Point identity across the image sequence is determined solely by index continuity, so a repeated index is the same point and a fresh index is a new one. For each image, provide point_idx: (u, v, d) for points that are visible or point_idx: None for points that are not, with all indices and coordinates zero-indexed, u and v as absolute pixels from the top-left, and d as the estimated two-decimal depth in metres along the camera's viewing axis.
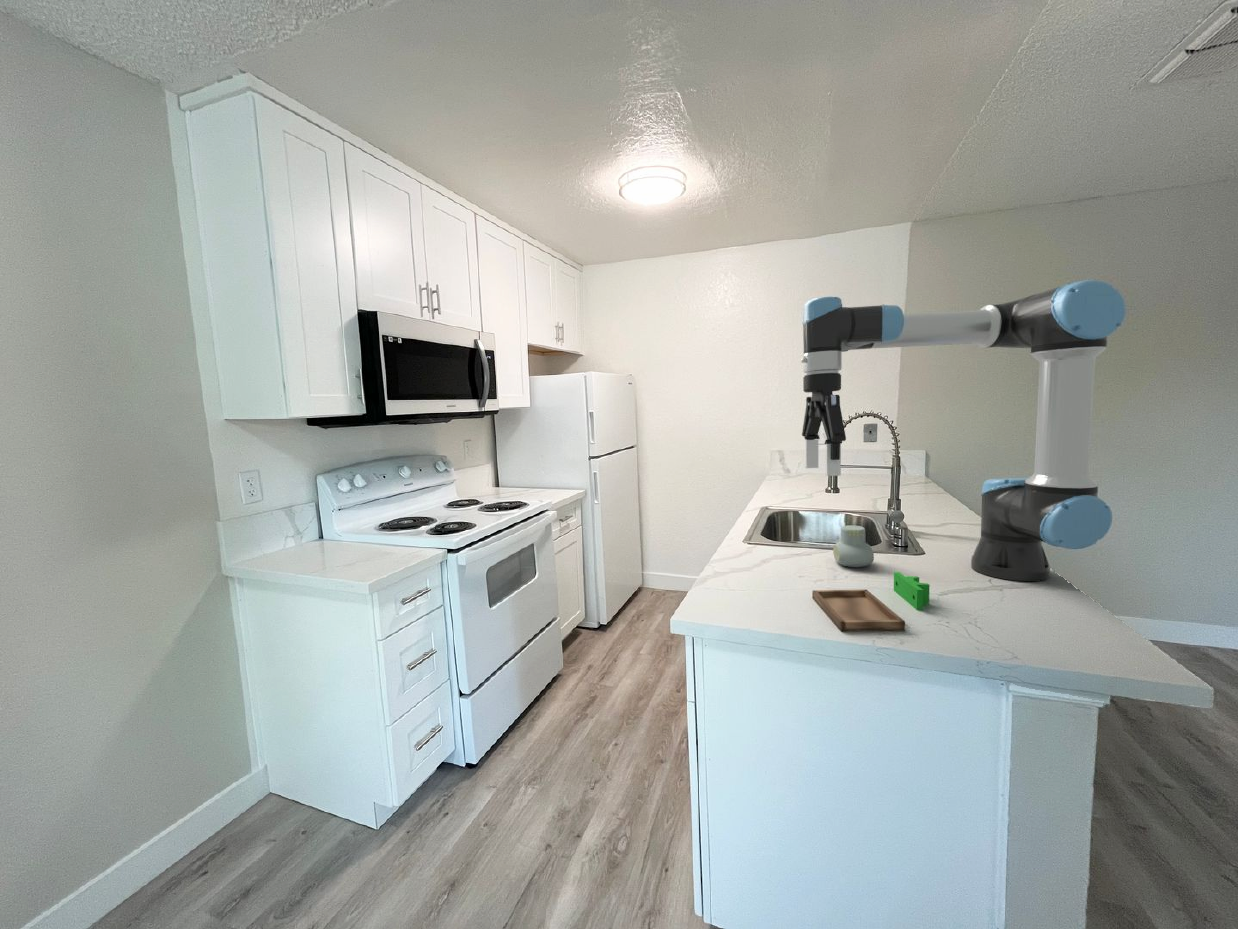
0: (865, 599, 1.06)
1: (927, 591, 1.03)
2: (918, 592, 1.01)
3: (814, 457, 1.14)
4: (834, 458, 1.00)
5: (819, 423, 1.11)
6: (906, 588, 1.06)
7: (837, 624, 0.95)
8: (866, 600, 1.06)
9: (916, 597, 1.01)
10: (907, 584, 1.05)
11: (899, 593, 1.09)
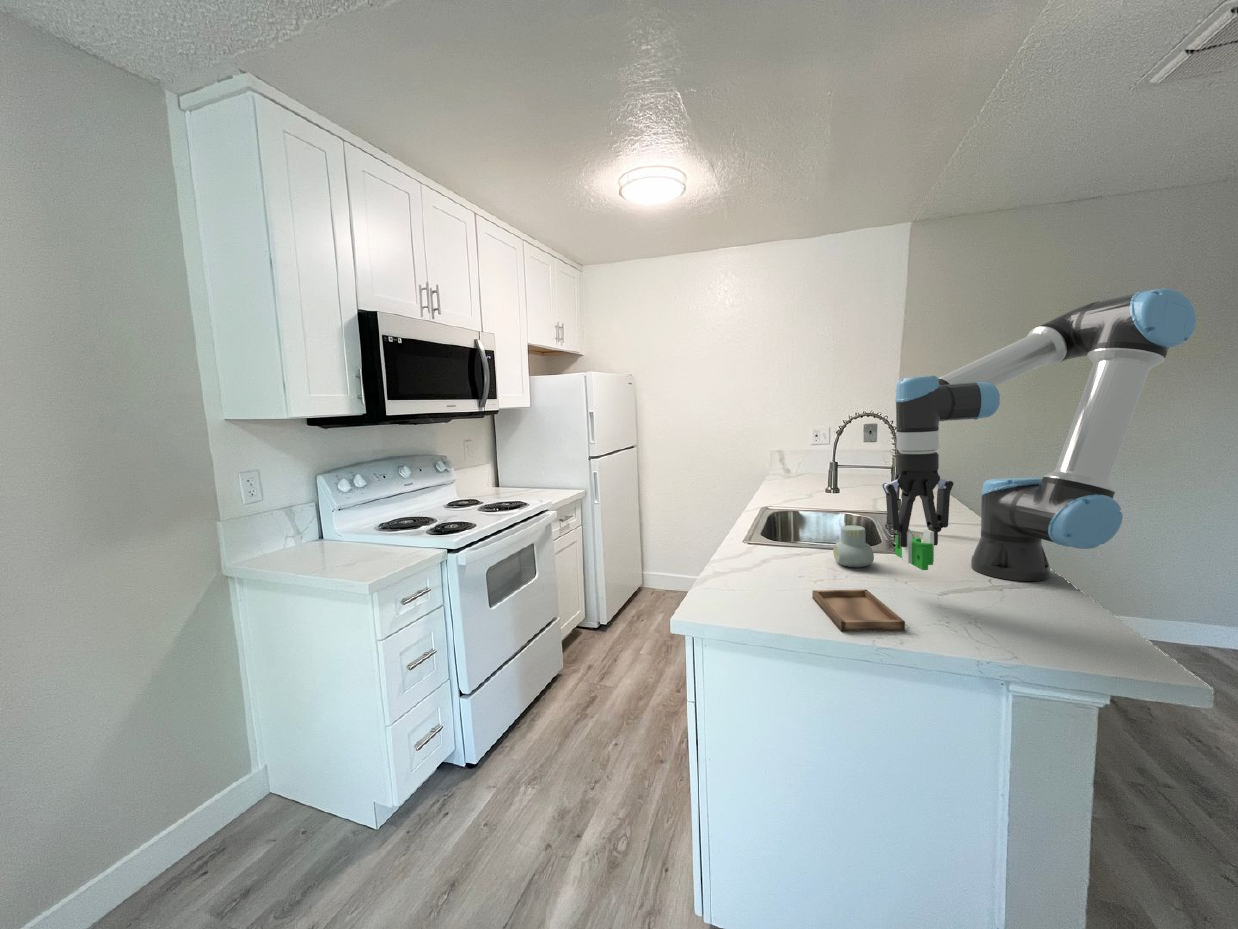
0: (865, 599, 1.06)
1: (931, 551, 1.03)
2: (923, 551, 1.00)
3: None
4: (899, 544, 1.06)
5: (928, 507, 1.03)
6: None
7: (837, 624, 0.95)
8: (866, 600, 1.06)
9: (921, 556, 1.00)
10: None
11: None
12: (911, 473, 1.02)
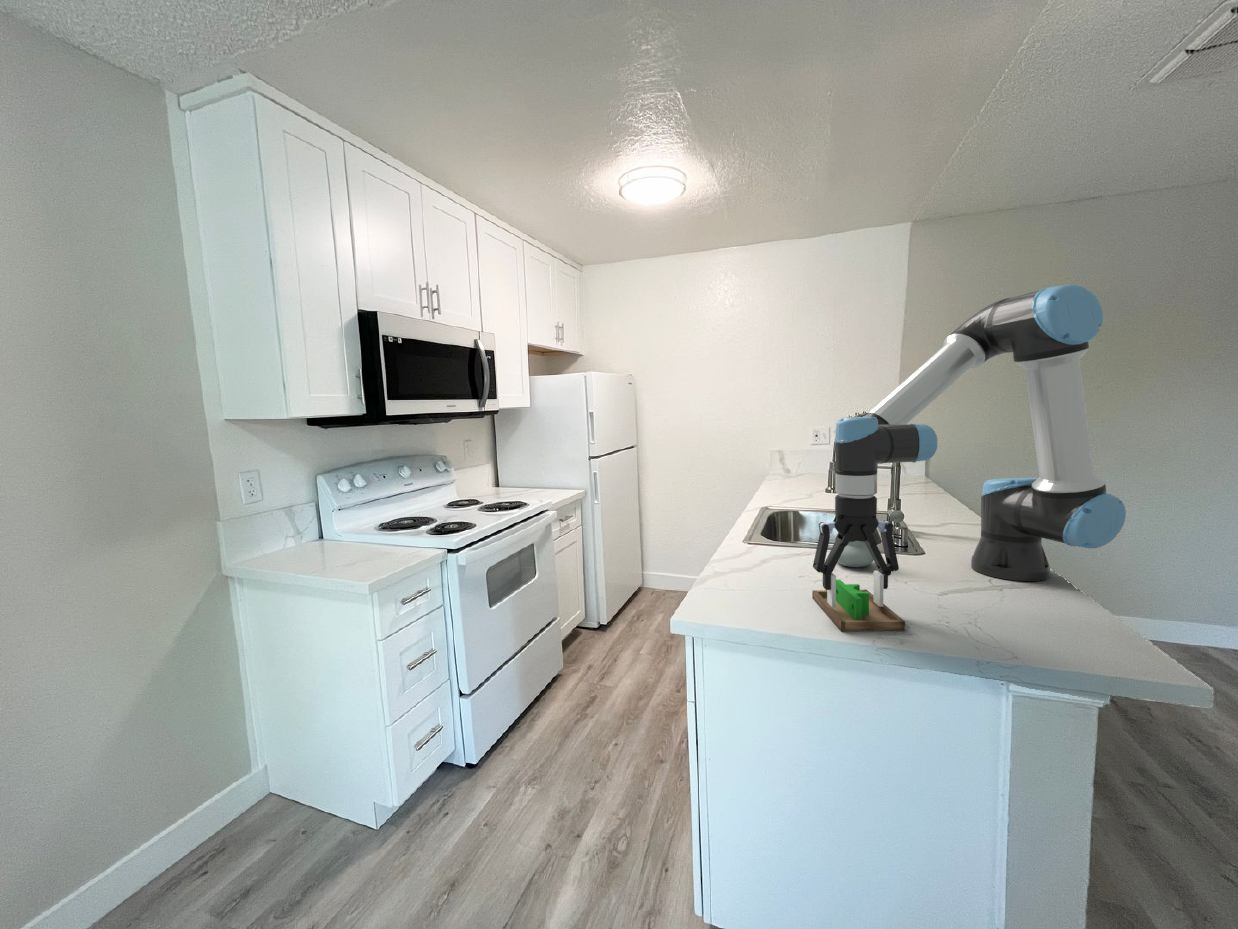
0: None
1: (867, 600, 0.98)
2: (857, 602, 0.95)
3: (877, 593, 1.00)
4: None
5: (872, 552, 0.98)
6: (846, 597, 1.00)
7: (837, 624, 0.95)
8: None
9: (855, 607, 0.96)
10: (847, 593, 1.00)
11: (839, 602, 1.04)
12: (850, 519, 0.98)
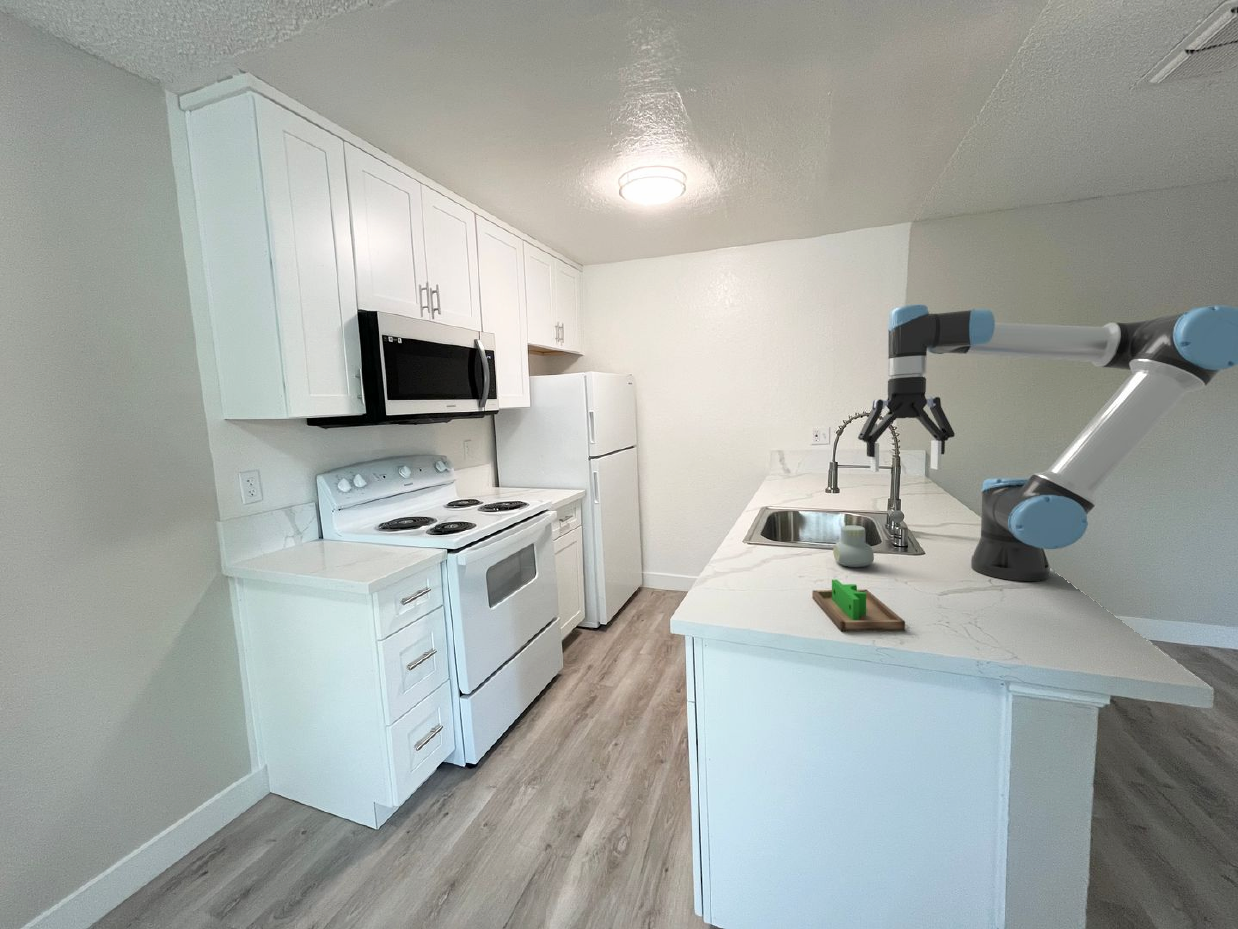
0: None
1: (864, 601, 0.98)
2: (854, 602, 0.95)
3: (935, 458, 1.13)
4: (867, 455, 1.15)
5: (927, 424, 1.12)
6: (843, 598, 1.00)
7: (837, 624, 0.95)
8: (866, 600, 1.06)
9: (852, 607, 0.96)
10: (844, 593, 1.00)
11: (837, 602, 1.04)
12: (903, 400, 1.12)
